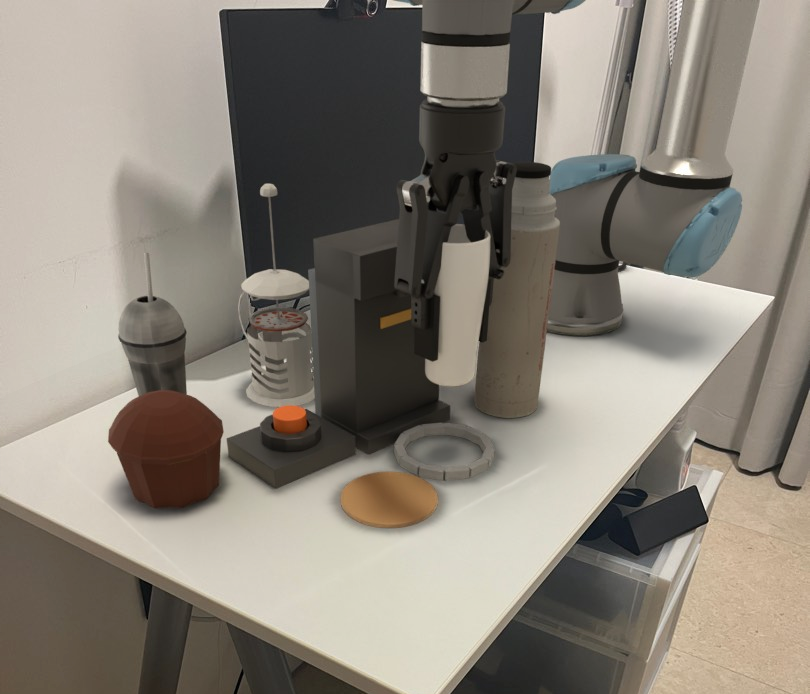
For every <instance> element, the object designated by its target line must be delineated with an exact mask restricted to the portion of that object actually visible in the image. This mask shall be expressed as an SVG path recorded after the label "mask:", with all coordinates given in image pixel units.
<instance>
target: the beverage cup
mask: <svg viewBox="0 0 810 694" xmlns="http://www.w3.org/2000/svg"><path fill="white" fill-rule="evenodd" d="M143 258H144V269H145V282H146V292H147V295H143V296H139V297H136V298H134V299H133V300H131V301H130V302H129V303H128V304H127V305H126V306H125V307H124V309H123V310H122V312H121V315H120V317H119V321H118V335H117V337H118V340H119V342H120V345H121V347H122V349H123V352H124V354H125V356H126V359H127V361H128V364H129V367H130V371H131V375H132V379H133V382H134V386H135V389H136V392H137V397H139V396H141V395H143V394H146V393H148V392H153V391H159V390H170V391H176V392H180V393H183V394H186V395H188V390H187V373H186V371H187V370H186V355H185V352H186V344H187V337H186V336H187V329H186V328H185V324H184V320H183V319H182V316H181V314H180V313H179V311H178V310H177V309H176V307H175V306H174V305H173V304H171V302H169V301H168V300H166V299H164V298H161V297H159V296H156V295H155V296H154V295H153V284H152V283H153V282H152V272H151V261H150V253H149V252H143Z"/></svg>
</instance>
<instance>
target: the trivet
mask: <svg viewBox="0 0 810 694" xmlns="http://www.w3.org/2000/svg"><path fill="white" fill-rule="evenodd" d="M438 497H439V496H438V493H437V491H436V489H435V488H434V486H433V485H432V484H431V483H429V481H427V480H426V479H424V478H422V477H420V476H418V475H415V474H411V473H406V472H402V471H378V472H370V473H367V474H363V475H361V476H358V477H355V478H354V479H353V480H351V481H350V482H348V483H347V484H346V485H345V486H344V488H343V489H342V490H341V494H340V505H341V507H342V510H343V511H344V513H345V514H346V515H347V516H348V517H349V518H351V519H353V520H355V521H356V522H358V523H360V524H363V525H365V526H370V527H374V528H380V529H399V528H405V527H410V526H414V525H417V524H419V523H421V522H424V521H425V520H427V519H428V518H430V517H431V516H432V515H433V514H434V513H435V512H436V510H437V507H438V503H439V498H438Z"/></svg>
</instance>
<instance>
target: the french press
mask: <svg viewBox="0 0 810 694" xmlns="http://www.w3.org/2000/svg"><path fill="white" fill-rule="evenodd" d="M259 194H260V196H261V197H265V198H267V199H268V212H269V224H270V237H271V250H272V251H271V252H272V264H273V265H272V267H273V269H272V268H271V269H270V268H268V269H266V270H262V271H258V272H255V273H253V274H252V275H251V276H249V277H247V278H246V279H245V280H244V281H243V282H242V283H241V285H240V286H241V290H242V291H243V292H242V293H241V294H240V296H239V299H238V303H237V305H238V306H237V310H238V319H239V323H240V326H241V329H242V333H243V335H244V336H245V338H246V340H247V342H248V350H249V351H248V352H249V362H250V372H251V383H250V384H249V385H248V387H247V388H246V389H245V393H246V396H247V398H248V399H249V400H251V401H252V402H254V403H256V404H259V405H263V406H265V407H275V408H279V407H282V406H289V405H293V406H300V405H304V404H306V403H310V402H312V401H313V400H315V394H314V374H313V354H312V335H311V324H308V323H307V321H308V320H309V317H308V315H307V313H306V312H304V311H303V310H300V309H298V308H297V309H296V308H292V307H291V306H290V307H284V306H282V307H281V306H279V300H280V301H281V300H288V299H289V300H290V299H294V298H298V297H300V296H302V295H304V294H305V295H306V294H307V292H309V279H307V278H306V277H304V276H302V275H301V274H300V273H298V272H294V271H291V270H287V269H277V266H276V254H275V241H274V228H273V215H272V201H271V197H275V196H278V189H277V187H276V186H275V184H273V183H264V184H263V185H262V186H261V187H260V190H259ZM245 294H247V295H249V298H248V313H249V317H248V322H249V324H250V326H249V327H247V332H246V329H245V327H244V325H243V320H242V314H241V303H242V299H243V297H244V295H245ZM250 298H251V303H250ZM262 299H263V300H269V301H270V300H271V301H275V305H276V307H275V306H274V307H273V306H271V307H267V308H261V309H259V310H256V311H254V312H252V302H257V301H259V300H262ZM297 329H299V330H301V331H303V332H304V333H305V335H304V334H302V333H301V332H298V331H293V330H297ZM258 330H260V331H261V330H262V336H261V335H260V333H259V331H258ZM288 331H293V332H288ZM283 332H286V333H283ZM291 338H297V339H292V340H287V339H291ZM284 340H285V341H284ZM261 354H262V355H263V356H264V359H263V358H262V357H261ZM285 359H286V361H285ZM262 365H264V366H265V368H263V367H262Z"/></svg>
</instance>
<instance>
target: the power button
mask: <svg viewBox="0 0 810 694" xmlns="http://www.w3.org/2000/svg"><path fill="white" fill-rule="evenodd" d="M305 409H306V408H303V407H302V406H300V405H297V406H293V405H289V406H282V407H276V408H275V409H274V410H273V412H272V414H273V423H274V429H275V431H277V432H279V433H284V434H294V433H299V432H302V431H304V430H305V429H306V428H307V417H306V411H305Z"/></svg>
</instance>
